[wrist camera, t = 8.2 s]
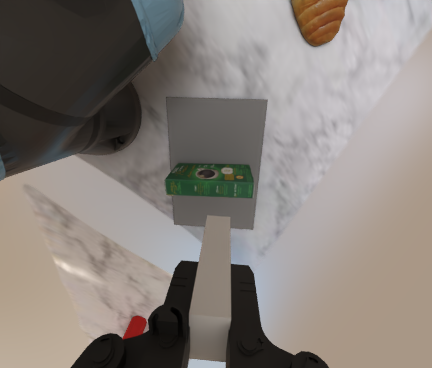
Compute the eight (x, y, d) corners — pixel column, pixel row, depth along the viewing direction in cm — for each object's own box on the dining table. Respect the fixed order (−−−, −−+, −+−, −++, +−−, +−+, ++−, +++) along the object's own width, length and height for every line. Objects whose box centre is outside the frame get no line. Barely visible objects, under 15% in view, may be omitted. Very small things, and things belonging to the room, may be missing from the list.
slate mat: (174, 223, 41) (174, 224, 41) (166, 97, 32) (166, 97, 32) (252, 228, 40) (252, 229, 40) (267, 99, 31) (267, 99, 31)
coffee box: (248, 178, 36) (177, 176, 37) (249, 163, 35) (176, 161, 36) (254, 200, 29) (165, 197, 30) (255, 182, 28) (163, 179, 28)
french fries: (140, 335, 56) (115, 398, 44) (125, 329, 56) (96, 392, 44) (150, 316, 53) (126, 379, 41) (135, 310, 53) (106, 372, 41)
